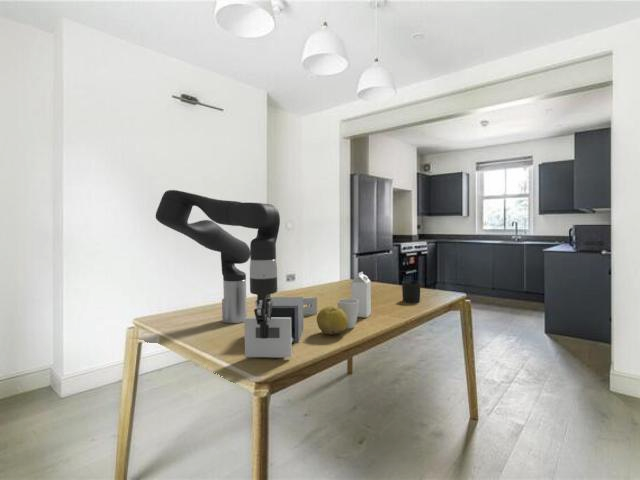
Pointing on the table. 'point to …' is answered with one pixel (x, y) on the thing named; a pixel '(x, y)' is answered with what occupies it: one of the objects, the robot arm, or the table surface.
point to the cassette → (312, 308)
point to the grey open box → (290, 313)
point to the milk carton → (362, 294)
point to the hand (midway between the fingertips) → (264, 337)
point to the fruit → (332, 320)
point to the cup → (349, 310)
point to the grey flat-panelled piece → (274, 344)
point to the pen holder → (411, 291)
